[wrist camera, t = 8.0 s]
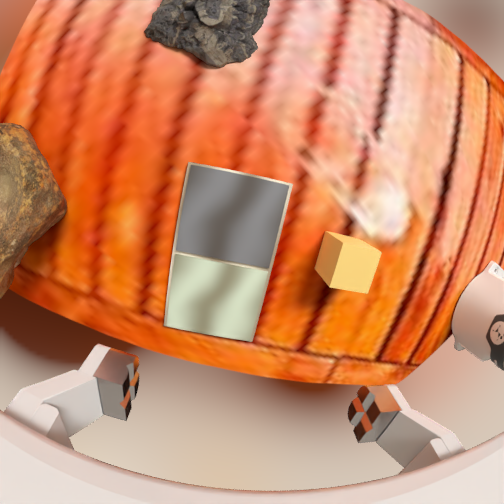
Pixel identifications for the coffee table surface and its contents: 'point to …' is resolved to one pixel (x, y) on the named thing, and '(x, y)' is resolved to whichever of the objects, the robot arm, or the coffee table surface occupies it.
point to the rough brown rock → (24, 198)
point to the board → (224, 250)
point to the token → (347, 262)
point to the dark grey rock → (209, 28)
